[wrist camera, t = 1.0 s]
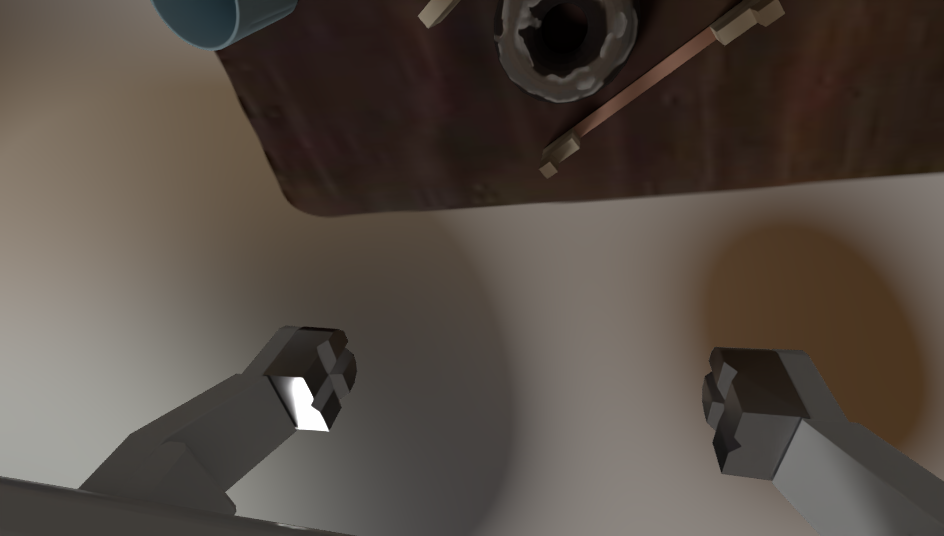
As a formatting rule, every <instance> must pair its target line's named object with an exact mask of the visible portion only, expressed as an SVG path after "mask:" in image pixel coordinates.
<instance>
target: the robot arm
mask: <svg viewBox="0 0 944 536" xmlns="http://www.w3.org/2000/svg"><path fill="white" fill-rule="evenodd" d="M347 343H348V339H347V337H346V335H345V332H344V331H343V330H340V329H330V328H316V327H296V326H284V327H282V328H280V329H279V330H278V331H277V332H276V333H275V334H274V336H273V337H272V338H271V339H270V340H269V342H268V343H267V344H266V345H265V347H264V348H263V349H262V350H261V351H260V353H259V354H258V355H257V356H256V357H255V359H254V360H253V361H252V362H251V364H250V365H249V366H248V367H247V368H246V369H245V371H244V372H243V373H242V374H235V375H233V376H231V377H230V378H228V379H226V380H224V381H223V382H221V383H219V384H217V385H216V386H214V387H212V388H210V389H209V390H207V391H205V392H203V393H202V394H200V395H198V396H197V397H195V398H193V399H191V400H189V401H188V402H186V403H184V404H182V405H181V406H179V407H177V408H175V409H174V410H172V411H170V412H168V413H167V414H165V415H163V416H161V417H160V418H158V419H156V420H154V421H152V422H151V423H149V424H148V425H145V426H144V427H142V428H140V429H138V430H137V431H135V432H133V433H131V434H130V435H129V436H128V437H127V438H126V439H125V440H124V441H123V442H122V444H121V445H119V446H118V448H117V449H116V450H115V451H114V452H113V453H112V454H111V455H110V456H109V457H108V458H107V459H106V460H105V461H104V462H103V463H102V464H101V465H100V466H99V468H98V469H97V470H96V471H95V472H94V473H93V474H92V475H91V476H90V477H89V478H88V479H87V480H86V481H85V482H84V483H83V484H82V485H81V486H80V487H79V488H78V489H73V488H67V487H61V486H55V485H49V484H43V483H37V482H31V481H25V480H20V479H14V478H8V477H2V476H0V536H355V535H349V534H342V533H336V532H331V531H325V530H319V529H312V528H306V527H300V526H295V525H289V524H283V523H277V522H271V521H264V520H259V519H252V518H246V517H240V516H235V515H234V514H235V513H236V505H235V504H234V503H233V502H232V500H231V499H230V498H229V497H228V495H227V494H226V493H225V492H226V491H227V490H228V489H229V488H230V487H232V486H233V485H234V484H235V483H236V482H237V481H238V480H240V479H241V478H242V477H243V476H244V475H246V474H247V473H248V472H249V471H250V470H251V469H253V468H254V467H255V466H256V465H257V464H258V463H260V462H261V461H262V460H263V459H264V458H265V457H267V456H268V455H269V454H270V453H271V452H272V451H274V450H275V449H276V448H277V447H278V446H279V445H281V444H282V443H283V442H284V441H285V440H286V439H288V438H289V437H290V436H291V435H292V434H293V433H295V432H296V429H307V430H320V431H329V430H330V428H331V427H332V425H333V423H334V421H335V419H336V417H337V415H338V413H339V411H340V410H341V408H342V407H341V402H340V399H341V398H342V397H344V396H345V395H347V394H348V393H350V390H351V389H352V387H353V385H354V383H355V378H356V373H357V366H356V360H355V357H354V354H352V353H351V352H350V351H349V350H348V349H347V348H345V347H346V345H347ZM709 363H710V366H711V369H712V372H710V373H709V374H707V375H706V376H705V378H704V383H703V388H702V403H703V409H704V414H705V418H706V421H707V423H708V424H709V425H710V426H711V427H712V428H713V429H714V430H715V431H716V432H715V435H714V439H713V442H712V443H713V446H714V449H715V453H716V457H717V460H718V463H719V467H720V470H721V473H722V474H727V475H734V476H742V477H749V478H757V479H764V480H772V484H773V485H774V486H775V487H776V488H777V489H778V490H779V491H780V492H781V493H782V494H783V496H784V497H785V498H786V499H787V500H788V501H789V502H790V503H791V504H792V505H793V506H794V507H795V509H796V510H797V511H798V512H799V513H800V514H801V515H802V516H803V517H804V518H805V519H806V521H807V522H808V523H809V524H810V525H811V526H812V527H813V528H814V529H815V530H816V531H817V533H818V534H819V535H820V536H944V481H942V480H941V479H939V478H938V477H936V476H935V475H933V474H932V473H931V472H929V471H928V470H926V469H925V468H923V467H922V466H920V465H919V464H918V463H916V462H915V461H913V460H912V459H910V458H909V457H907V456H906V455H904V454H903V453H902V452H900V451H898V450H897V449H896V448H894V447H893V446H891V445H890V444H888V443H887V442H885V441H884V440H883V439H881V438H880V437H878V436H877V435H875V434H874V433H873V432H871V431H870V430H868V429H867V428H865V427H864V426H862V425H861V424H859V423H851V422H848V420H847V418H846V417H845V415H844V413H843V412H842V410H841V408H840V407H839V405H838V403H837V402H836V400H835V398H834V397H833V395H832V393H831V392H830V390H829V388H828V387H827V385H826V384H825V382H824V380H823V379H822V377H821V375H820V374H819V372H818V370H817V369H816V367H815V365H814V364H813V362H812V360H811V359H810V357H809V355H808V354H807V353H805V352H804V351H803V350H782V349H772V350H770V349H751V348H725V347H714V349H713V350H712V352H711V355H710V358H709Z"/></svg>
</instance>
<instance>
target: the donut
mask: <svg viewBox="0 0 944 536" xmlns="http://www.w3.org/2000/svg"><path fill="white" fill-rule="evenodd" d="M561 3H572V4H575V5H576V6H578V7H580V8H581V10H582V11H583V12H584V13H585V16H586V18H587V23H588V30H587V34H586V37H585V39H584V41H583V42H582V44H581V45H580V46H579V47H578V48H577V49H575V50H574V51H571V52H569V53H563V54H561V53H556V52H554V51H552V50H550V49H549V48H548V47H547V46H546V44H545V42H544V40H543V38H542V33H541V30H542V23H543V20H544V17H545V15H546V14H547V12H548V11H549V10H550V9H551V8H553V7H554V6H556V5H558V4H561ZM640 19H641V16H640V4H639V0H499V1H498V5H497V9H496V13H495V17H494V43H495V46H496V50H497V54H498V58H499V62H500V63H501V65H502V67H503V69H504V71H505V72H506V74H507V76H508V78H509V79H510V80H511V81H512V82H513V83H514V84H515V85H516V86H517V87H518V88H519V89H520V90H521V91H522V92H524V93H526V94H528V95H530V96H532V97H533V98H535V99H537V100H540V101H545V102H550V103H556V104H560V103H569V102H577V101H579V100H582V99H584V98H587V97H589V96H592V95H594V94H596V93H597V92H598V91H600V90H601V89H602V88H604V87H605V86H606V85H608V84H609V83H610V82H612V81H613V79H614V78H615V77H616V76H617V74H618V73H619V72H620V71H621V69H622V68H623V67H624V66H625V64H626V63H627V61H628V58H629V56H630V54H631V52H632V50H633V48H634V45H635V43H636V41H637V35H638V30H639V24H640Z"/></svg>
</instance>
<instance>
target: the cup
mask: <svg viewBox="0 0 944 536" xmlns="http://www.w3.org/2000/svg"><path fill="white" fill-rule="evenodd" d="M150 1H151V3H152V5H153V6H154V8H155V10H156V11H157V13H158V14H159V16H160V17H161V19H162V20H163V21H164V23H165V24H166V25H167V26H168V27H169V28H170V29H171V30H172V31H173V32H174V33H175V34H176V35H177V36H178V37H180V38H181V39H182V40H184V41H185V42H187V43H189V44H190V45H192V46H195V47H197V48H200V49H203V50H211V51H212V50H219V49H222V48H225V47H227V46H228V45H230V44H232V43H234V42H236V41H238V40H240V39H242V38H244V37H246V36H248V35H250V34H252V33H254V32H256V31H258V30H260V29H262V28H264V27H266V26H268V25H270V24H272V23H274V22H275V21H277V20H279V19H281V18H283V17H285V16H287V15H288V14H290V13H291V12H293V10H294V9H295V7H296V4H297V2H298V0H150Z"/></svg>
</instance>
